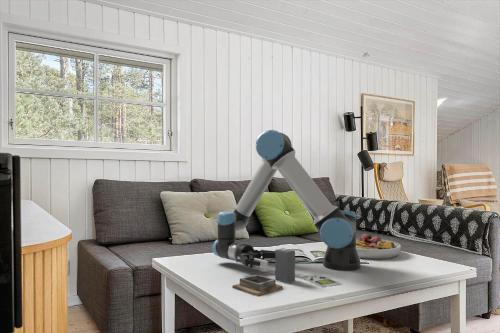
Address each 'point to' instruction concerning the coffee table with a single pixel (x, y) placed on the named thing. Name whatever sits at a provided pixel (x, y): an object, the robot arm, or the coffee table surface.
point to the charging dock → (257, 285)
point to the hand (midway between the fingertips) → (280, 262)
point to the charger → (285, 265)
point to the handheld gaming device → (320, 280)
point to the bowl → (376, 247)
